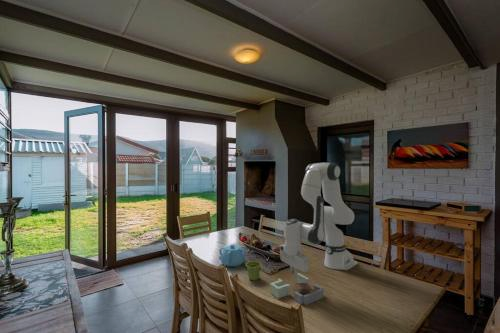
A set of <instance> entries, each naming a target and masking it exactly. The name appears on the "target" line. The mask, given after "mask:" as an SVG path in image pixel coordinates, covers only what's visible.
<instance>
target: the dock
mask: <svg viewBox="0 0 500 333" xmlns="http://www.w3.org/2000/svg"><path fill="white" fill-rule="evenodd" d="M293 294H294V295H293V296H294V297H293V298H294V299H293V300H294V301H295V302H296V303H298V304H299V303H300V304H299V305H301V304H302V305H304V306H307V305H309V304H312V303H314V302H318V301H319V300H323V299H324V287H321V286H320V285H318V284H314V285H313V291H311V293H309V294H306V295H302V294H300V293H298V292H297V290H296V291H293Z"/></svg>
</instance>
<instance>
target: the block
mask: <svg viewBox="0 0 500 333" xmlns="http://www.w3.org/2000/svg"><path fill="white" fill-rule="evenodd" d="M309 285H310V283H309V284H308V283H297V282H296V291H297V292H298V293H300V294H302V295H306V294H309V293H311V292H312V288H311V286H309Z"/></svg>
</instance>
